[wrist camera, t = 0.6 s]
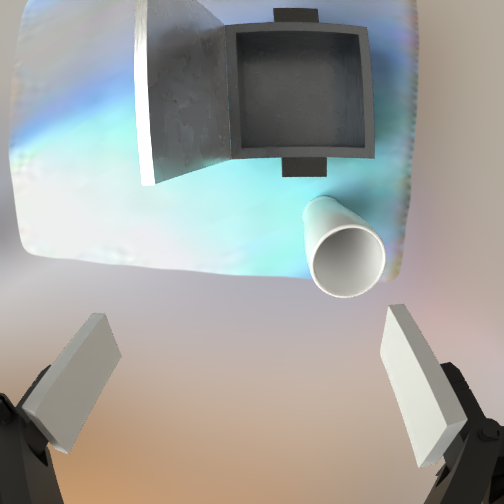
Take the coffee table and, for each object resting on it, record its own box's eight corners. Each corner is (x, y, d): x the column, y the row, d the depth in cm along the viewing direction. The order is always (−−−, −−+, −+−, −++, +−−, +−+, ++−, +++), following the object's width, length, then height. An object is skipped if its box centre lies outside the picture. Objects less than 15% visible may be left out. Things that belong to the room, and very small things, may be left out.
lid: (224, 24, 23) (197, 29, 24) (149, -36, 11) (111, -20, 11) (231, 159, 28) (204, 160, 29) (154, 184, 16) (115, 187, 16)
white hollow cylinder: (332, 179, 36) (367, 208, 22) (356, 224, 38) (398, 274, 24) (285, 207, 38) (293, 251, 24) (312, 250, 40) (331, 312, 26)
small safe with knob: (233, 32, 30) (224, 9, 23) (347, 32, 29) (364, 11, 22) (240, 170, 37) (232, 179, 29) (353, 169, 36) (374, 178, 28)
